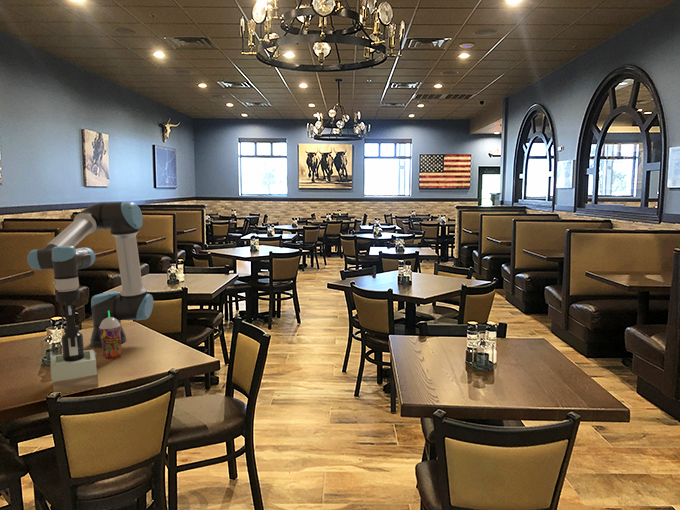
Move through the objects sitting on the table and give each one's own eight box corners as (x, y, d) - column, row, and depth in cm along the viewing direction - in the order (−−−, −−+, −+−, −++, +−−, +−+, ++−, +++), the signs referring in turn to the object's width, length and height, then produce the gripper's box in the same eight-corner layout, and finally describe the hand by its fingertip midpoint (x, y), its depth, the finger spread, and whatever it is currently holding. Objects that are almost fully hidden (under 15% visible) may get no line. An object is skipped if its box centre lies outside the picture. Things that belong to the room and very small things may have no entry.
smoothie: (105, 362, 213) (101, 314, 210) (99, 357, 219) (94, 311, 216) (126, 357, 218) (122, 310, 215) (119, 352, 224) (115, 307, 222)
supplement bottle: (75, 362, 183) (72, 329, 182) (58, 361, 185) (55, 329, 183) (88, 356, 190) (85, 324, 189) (72, 355, 192) (69, 323, 190)
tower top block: (52, 370, 191) (51, 355, 190) (94, 363, 197) (93, 349, 196) (52, 382, 178) (50, 366, 178) (97, 374, 185) (95, 359, 184)
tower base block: (53, 383, 191) (52, 370, 190) (95, 376, 198) (94, 363, 197) (54, 396, 179) (52, 382, 178) (98, 388, 186) (97, 374, 185)
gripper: (54, 286, 191) (60, 347, 194) (55, 295, 174) (62, 361, 177) (77, 284, 195) (83, 343, 198) (80, 292, 177) (87, 357, 180)
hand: (73, 352), depth 187 cm, fingers closed on supplement bottle, 7 cm apart
